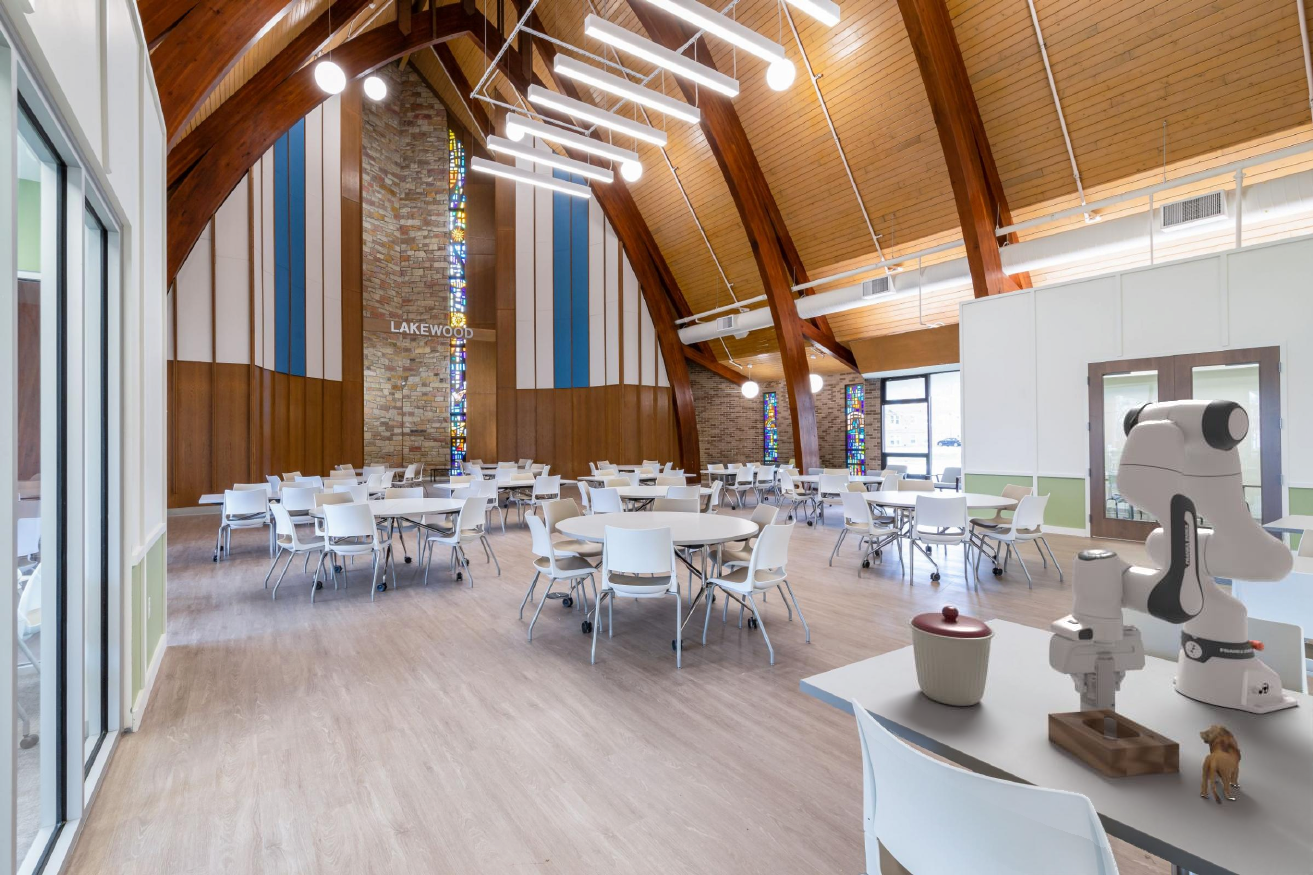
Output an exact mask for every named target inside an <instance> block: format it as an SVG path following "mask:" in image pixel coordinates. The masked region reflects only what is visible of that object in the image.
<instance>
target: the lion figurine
mask: <svg viewBox="0 0 1313 875" xmlns="http://www.w3.org/2000/svg"><path fill="white" fill-rule="evenodd" d="M1199 736H1200V738H1201V740H1202V741H1203V743H1204V744H1205V745H1208V747H1209V754H1207V755H1206V756H1205V757H1204V758H1205V759H1204V762H1203V764H1202V780H1201V783H1200V784H1201V785H1200V786H1201V792H1200V796H1201V795H1203V796H1205V797H1209V798H1210V793H1209V790H1208V789H1209V785H1210V789H1211V791H1212V794H1213V796H1214V799H1215V803H1217V805H1220V806H1221V805H1222V804H1223V803H1222V800H1221V797H1220V796H1219V795H1218V793H1217V790H1216V785H1215V781H1219V782H1220V781H1221V783H1222V784H1223V789H1222V790H1223V793H1224V795H1225V798H1227V797H1228V798H1236V799H1237V797H1236V796H1235V795H1233V794H1232V793H1231V784H1233V785H1236V786H1238V785H1240V784H1239V783H1238V779H1239V773H1240V768H1239V764H1240V762H1241V760H1242V754H1241V750H1240V748H1239V744H1238V741H1237V740H1236V738H1234V734H1233V733H1232V732H1231V731H1230V730H1229V729H1228V728H1226V727H1225V726H1222V725H1218V724H1212V725H1211V727H1210V728H1209V729H1207V730H1205V731H1201V732H1199ZM1230 783H1231V784H1230ZM1205 797H1204V798H1205ZM1228 798H1227V799H1228Z"/></svg>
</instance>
